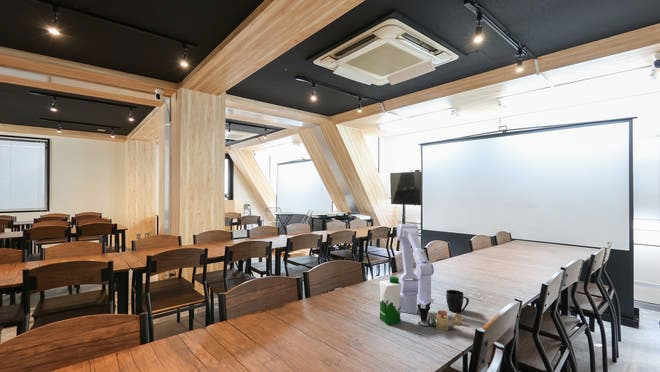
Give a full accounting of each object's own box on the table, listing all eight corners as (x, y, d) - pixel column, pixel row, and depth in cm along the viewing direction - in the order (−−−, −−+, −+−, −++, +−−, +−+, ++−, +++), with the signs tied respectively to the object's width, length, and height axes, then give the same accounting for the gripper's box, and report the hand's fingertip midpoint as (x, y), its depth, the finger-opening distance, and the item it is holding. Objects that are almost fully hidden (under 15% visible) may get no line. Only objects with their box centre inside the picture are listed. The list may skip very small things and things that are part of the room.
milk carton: (403, 323, 136) (403, 279, 136) (386, 326, 133) (386, 281, 133) (392, 316, 144) (393, 274, 145) (376, 318, 141) (377, 276, 141)
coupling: (420, 325, 134) (420, 314, 134) (420, 320, 138) (420, 310, 138) (430, 326, 133) (430, 315, 133) (430, 321, 137) (429, 311, 137)
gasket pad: (417, 325, 134) (417, 325, 134) (418, 320, 139) (418, 320, 139) (430, 327, 132) (430, 327, 132) (430, 322, 137) (430, 322, 137)
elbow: (452, 324, 136) (452, 315, 136) (451, 322, 138) (451, 314, 138) (461, 324, 136) (461, 316, 136) (459, 323, 138) (459, 314, 138)
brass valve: (431, 327, 132) (431, 312, 132) (431, 323, 137) (431, 308, 137) (453, 331, 129) (453, 315, 129) (453, 327, 133) (453, 311, 134)
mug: (461, 318, 143) (461, 298, 144) (442, 309, 154) (442, 290, 154) (473, 315, 147) (473, 296, 147) (454, 306, 158) (454, 288, 158)
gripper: (432, 295, 128) (432, 326, 127) (434, 285, 141) (434, 314, 141) (416, 292, 130) (415, 324, 130) (419, 283, 144) (418, 312, 144)
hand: (424, 318), depth 136 cm, fingers closed on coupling, 4 cm apart
